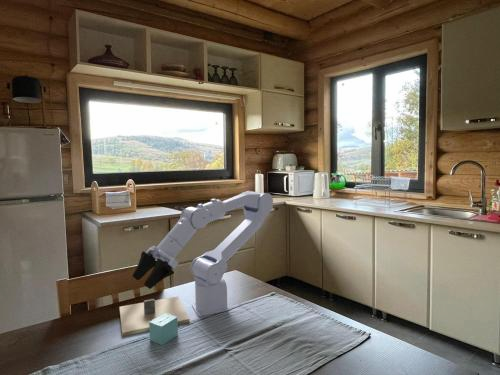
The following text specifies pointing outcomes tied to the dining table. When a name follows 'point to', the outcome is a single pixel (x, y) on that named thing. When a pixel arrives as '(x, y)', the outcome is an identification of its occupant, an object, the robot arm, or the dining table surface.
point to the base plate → (150, 314)
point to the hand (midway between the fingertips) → (140, 282)
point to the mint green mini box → (163, 328)
